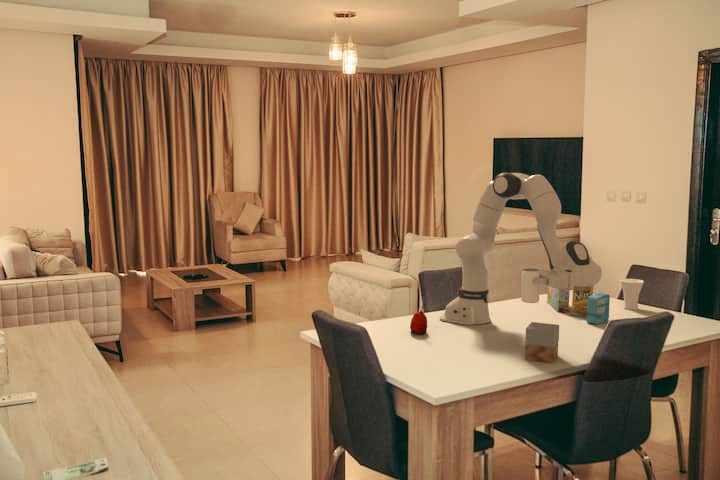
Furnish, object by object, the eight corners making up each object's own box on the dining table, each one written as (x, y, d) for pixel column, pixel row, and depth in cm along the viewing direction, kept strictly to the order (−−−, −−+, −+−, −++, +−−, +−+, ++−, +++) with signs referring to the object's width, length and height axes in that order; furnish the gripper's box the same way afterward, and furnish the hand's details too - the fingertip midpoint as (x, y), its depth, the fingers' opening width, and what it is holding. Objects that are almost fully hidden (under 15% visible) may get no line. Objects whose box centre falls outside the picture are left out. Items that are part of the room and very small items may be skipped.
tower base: (524, 360, 255) (525, 344, 254) (530, 353, 264) (531, 337, 263) (552, 364, 251) (553, 347, 250) (557, 356, 260) (558, 340, 259)
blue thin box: (595, 325, 304) (596, 298, 302) (586, 323, 307) (587, 296, 305) (609, 320, 312) (610, 293, 310) (599, 318, 315) (600, 292, 314)
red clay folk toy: (416, 330, 297) (416, 295, 295) (431, 332, 293) (431, 297, 291) (407, 333, 291) (407, 298, 289) (421, 336, 287) (421, 300, 285)
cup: (622, 305, 341) (623, 277, 340) (644, 307, 335) (646, 280, 334) (616, 309, 333) (617, 281, 331) (639, 312, 327) (640, 283, 325)
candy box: (571, 315, 321) (572, 282, 319) (572, 313, 325) (573, 280, 323) (591, 317, 318) (593, 283, 316) (592, 314, 322) (593, 282, 320)
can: (540, 303, 260) (540, 271, 259) (522, 302, 261) (522, 271, 259) (538, 299, 266) (538, 268, 265) (520, 299, 267) (521, 268, 266)
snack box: (569, 312, 327) (570, 280, 325) (557, 312, 328) (558, 280, 326) (557, 302, 348) (558, 272, 346) (546, 302, 349) (547, 272, 347)
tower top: (525, 344, 254) (525, 328, 253) (531, 337, 263) (531, 322, 262) (553, 347, 250) (554, 331, 249) (558, 340, 259) (559, 324, 258)
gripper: (547, 264, 276) (515, 266, 272) (576, 273, 256) (542, 275, 252) (547, 280, 276) (515, 282, 273) (575, 290, 257) (541, 292, 253)
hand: (528, 279), depth 262 cm, fingers closed on can, 6 cm apart
